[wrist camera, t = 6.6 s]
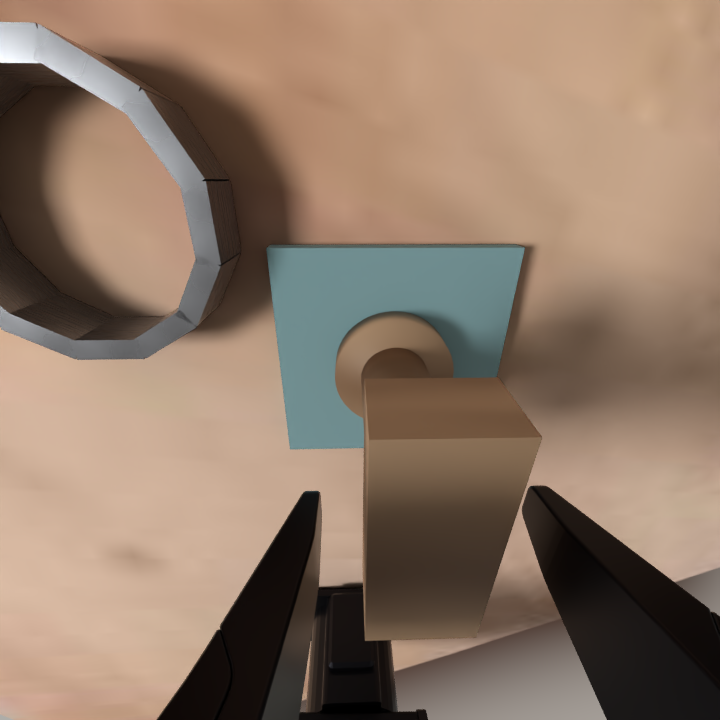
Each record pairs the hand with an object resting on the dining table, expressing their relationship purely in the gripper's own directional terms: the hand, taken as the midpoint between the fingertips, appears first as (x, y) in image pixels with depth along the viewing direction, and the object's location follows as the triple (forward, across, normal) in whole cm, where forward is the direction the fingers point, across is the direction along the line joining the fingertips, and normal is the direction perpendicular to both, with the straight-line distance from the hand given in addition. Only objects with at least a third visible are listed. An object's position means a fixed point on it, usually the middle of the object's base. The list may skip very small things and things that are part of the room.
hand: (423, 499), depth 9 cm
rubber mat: (+8, 0, 0) cm, 8 cm away
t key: (+8, 0, 0) cm, 8 cm away
